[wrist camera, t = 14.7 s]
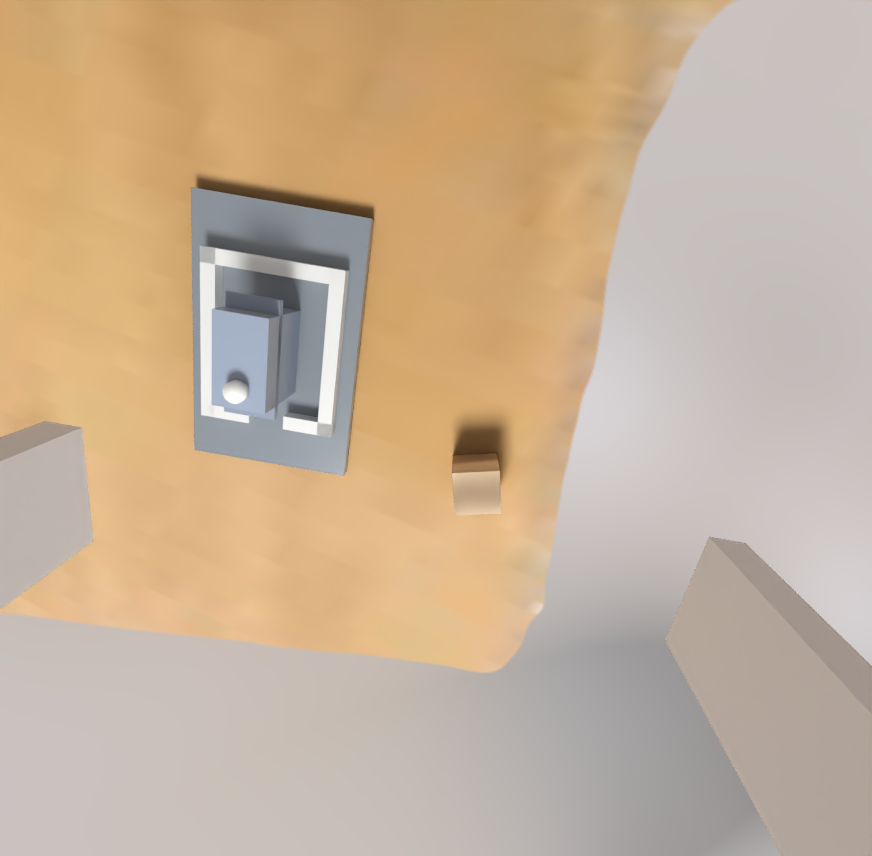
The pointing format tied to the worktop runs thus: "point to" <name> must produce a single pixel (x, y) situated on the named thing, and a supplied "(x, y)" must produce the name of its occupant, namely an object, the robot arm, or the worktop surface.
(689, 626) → the robot arm
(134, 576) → the worktop surface
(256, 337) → the servo block
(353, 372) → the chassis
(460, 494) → the oak block
